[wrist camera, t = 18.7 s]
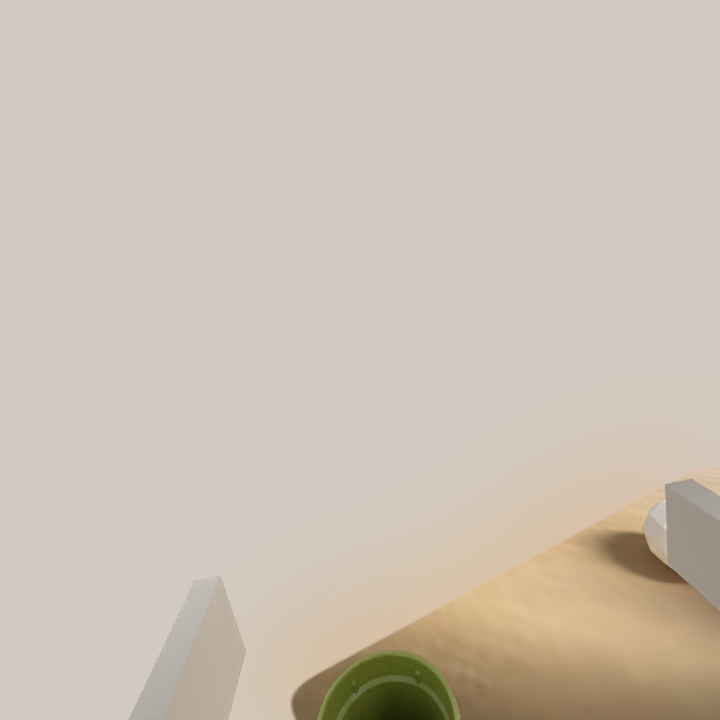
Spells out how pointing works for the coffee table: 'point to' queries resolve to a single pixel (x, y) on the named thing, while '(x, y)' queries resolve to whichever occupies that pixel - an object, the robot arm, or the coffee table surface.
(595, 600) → the coffee table surface
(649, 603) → the coffee table surface
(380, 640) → the coffee table surface
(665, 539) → the geometric ball
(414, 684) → the plant pot
